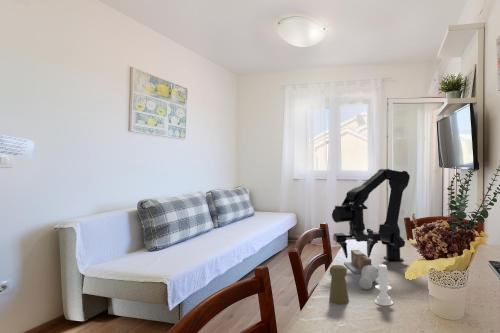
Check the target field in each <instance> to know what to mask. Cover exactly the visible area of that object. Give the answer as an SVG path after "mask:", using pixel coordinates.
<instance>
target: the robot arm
mask: <svg viewBox="0 0 500 333" xmlns="http://www.w3.org/2000/svg"><path fill="white" fill-rule="evenodd" d="M410 176H411V175H410V174H409V173H408V171H407V170H393V169H390V168H380V169H379V170H377V172H376V173H374V174H373V175H371V177H370V178H369V179H366V181H365V182H363V183H362V184H361V185H359V186H356V187H353V188H352V189H349V190H348V191H347V192H346V196H345V198H344V200H343V202H342V203H341V205H335V206H334V209H332V213H331V218H332V221H333V222H334V223H336V224H337V223H344V222H345V223H347V222H348V225H349V232H348V234H344V233H343V232H341V233H337V232H336V233H335V232H334V234H333V241H334V242H335V243H337V244H339V245H340V248H341V249H342V251H343V253H344V257H345V258H346V259H348V249H347V248H348V247H347V245H348V243H347V242H346V241H347V240H349V241H350V240H355V241H356V242H359V243H360V242H366V253H367V254H366V256H367V257H369V258H371V253H372V251H373V248H374V246H375V245H376V244H378V243H379V242H380V243H381V244H382V245H384V246H385V249H386V250H385V251H386V252H385V254H386V256H383V259H384V260H386V261H388V262H401V261H402V262H403V261H404V259H403V258H402V257H401V248H404V247H405V245H406V241H405V240H404V238H402V237H401V229H400V226H399V224H398V222H399V217H400V210H401V204H402V201H403V200H402V198H403V194H404V190H406V188H407V187H408V186H409V182H410V179H411V177H410ZM386 180H387V181H388V185H389V188H390V194H389V198H388V205H387V210H386V211H387V212H386V218H385V221H384V223H383V224H382V223H380V224H379V227H378V228H379V229H378V232H377V231H374V229H373V228H366V226H365V223H364V222H365V221H364V210H368V206H366V205H365V203H366V201H367V200H368V199H369V195H370V194H371V193H372V192H373V191H374V190H375V189H376V188H378V187H379V186H380V185H381V184H382V183H384V182H385V181H386Z"/></svg>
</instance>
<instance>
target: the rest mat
mask: <svg viewBox="0 0 500 333" xmlns="http://www.w3.org/2000/svg"><path fill="white" fill-rule="evenodd" d="M343 265H345V266H346V267H347V268H348V269H349V271H351V272H352V274H362V273H361V272H362V271H361V270H360V269H359V268H358V267H357V266H356V265H355V264H353V263H352V262H351V261H349V262H348V261H347V262H343ZM372 266H373V265H372ZM373 267H375V266H373ZM377 271H378V269H377Z"/></svg>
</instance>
